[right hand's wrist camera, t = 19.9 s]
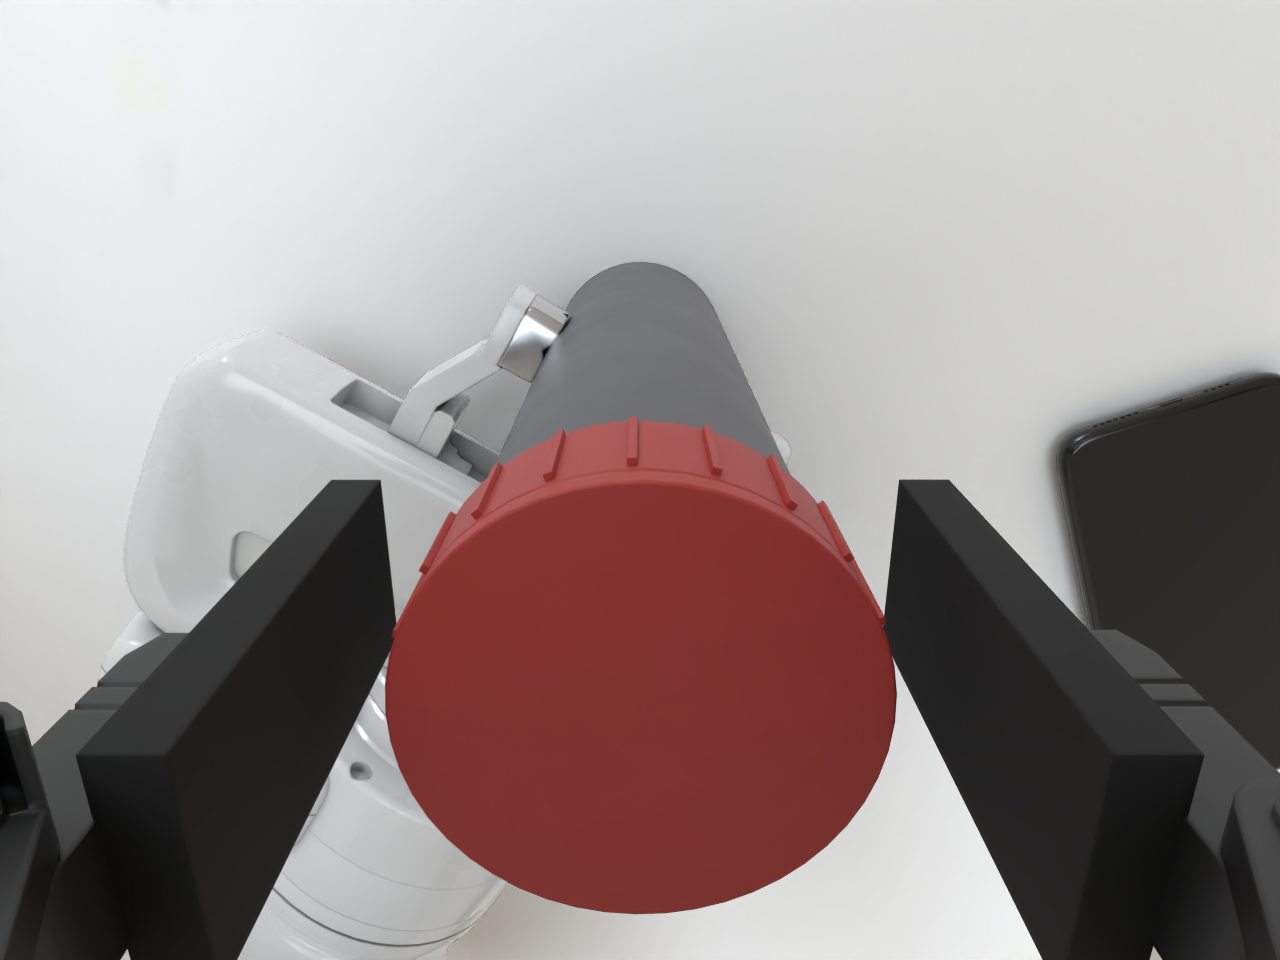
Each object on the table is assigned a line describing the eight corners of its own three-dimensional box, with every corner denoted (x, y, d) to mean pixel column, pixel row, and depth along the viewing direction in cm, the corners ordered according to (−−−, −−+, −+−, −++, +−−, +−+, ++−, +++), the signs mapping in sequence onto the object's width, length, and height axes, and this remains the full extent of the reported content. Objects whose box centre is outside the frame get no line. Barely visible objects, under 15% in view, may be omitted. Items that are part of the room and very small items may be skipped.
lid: (336, 545, 12) (272, 629, 10) (737, 331, 11) (759, 374, 9) (564, 855, 14) (550, 981, 11) (925, 696, 13) (980, 804, 10)
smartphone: (1044, 435, 30) (1117, 797, 35) (1055, 443, 29) (1129, 813, 35) (1283, 359, 29) (1321, 742, 34) (1301, 365, 28) (1339, 757, 34)
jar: (747, 379, 30) (925, 764, 11) (605, 448, 30) (553, 910, 12) (677, 232, 28) (751, 396, 9) (529, 308, 29) (332, 596, 10)
